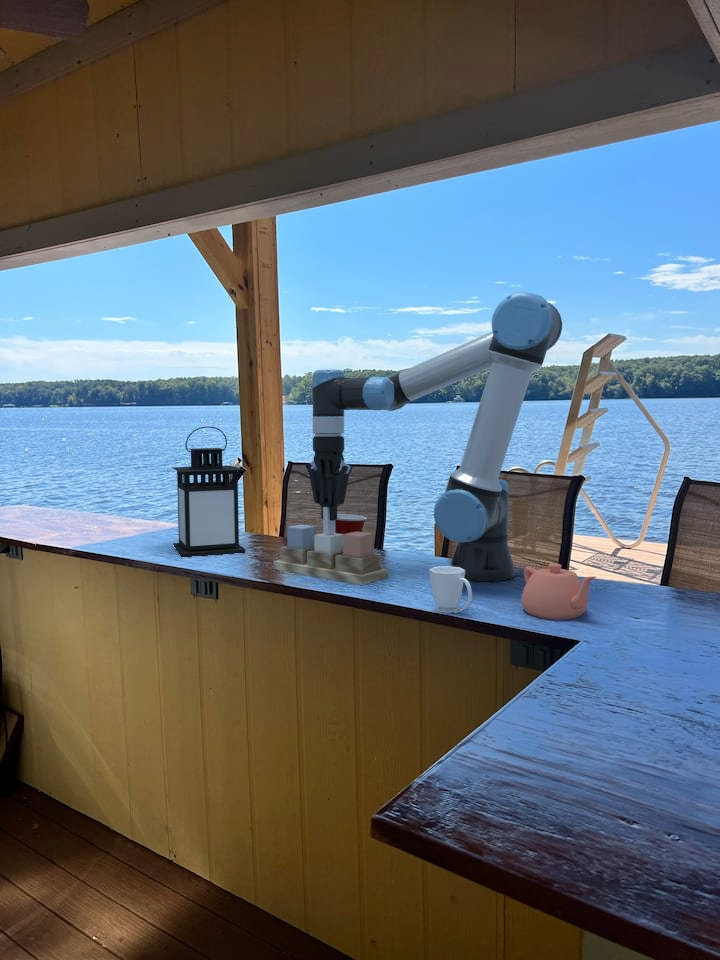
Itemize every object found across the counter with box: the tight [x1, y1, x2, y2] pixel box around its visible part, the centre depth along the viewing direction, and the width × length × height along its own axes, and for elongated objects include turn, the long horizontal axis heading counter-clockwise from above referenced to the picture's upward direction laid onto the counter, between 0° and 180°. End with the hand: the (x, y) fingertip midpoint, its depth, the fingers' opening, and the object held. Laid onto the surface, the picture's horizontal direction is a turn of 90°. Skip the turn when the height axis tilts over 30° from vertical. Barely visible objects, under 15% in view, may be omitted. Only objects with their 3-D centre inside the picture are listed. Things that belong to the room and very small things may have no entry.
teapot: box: [520, 563, 597, 621], centre depth 141 cm, size 12×18×10 cm
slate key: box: [286, 524, 317, 550], centre depth 183 cm, size 5×5×6 cm
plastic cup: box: [335, 513, 368, 534], centre depth 193 cm, size 11×11×12 cm
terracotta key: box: [343, 531, 375, 559], centre depth 172 cm, size 5×5×6 cm
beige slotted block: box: [272, 545, 389, 586], centre depth 178 cm, size 28×10×6 cm, turn 52°
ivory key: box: [314, 532, 343, 554], centre depth 177 cm, size 5×5×6 cm
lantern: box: [170, 426, 246, 558], centre depth 207 cm, size 17×17×35 cm
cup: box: [428, 565, 473, 614], centre depth 143 cm, size 7×10×8 cm
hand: (329, 533), depth 177 cm, fingers closed
